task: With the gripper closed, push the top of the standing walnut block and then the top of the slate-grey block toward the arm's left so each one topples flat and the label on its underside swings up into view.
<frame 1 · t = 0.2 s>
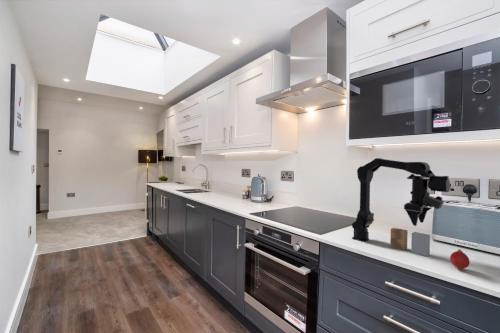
hand: (418, 224, 108), 14 cm above the worktop, tool pointing down, fingers open, 9 cm apart
walnut block: (398, 247, 117), on the worktop
grey block: (420, 253, 110), on the worktop
onion: (459, 270, 94), on the worktop
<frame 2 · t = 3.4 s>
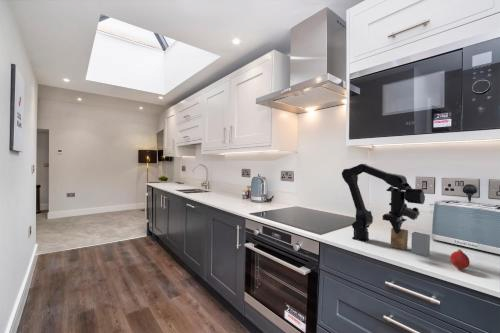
hand: (397, 233, 115), 8 cm above the worktop, tool pointing down, fingers closed
nothing on the worktop moved.
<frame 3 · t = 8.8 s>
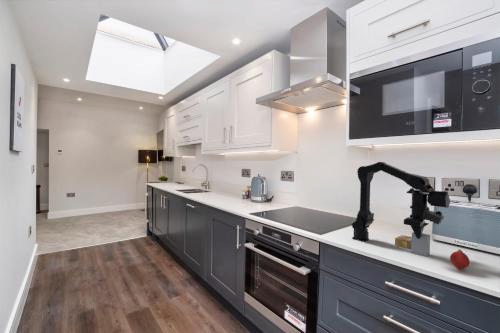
hand: (418, 238, 108), 8 cm above the worktop, tool pointing down, fingers closed
walnut block: (401, 243, 118), point 2 cm above the worktop, tilted 90°
grey block: (420, 253, 110), on the worktop, touching gripper
everything else where it was.
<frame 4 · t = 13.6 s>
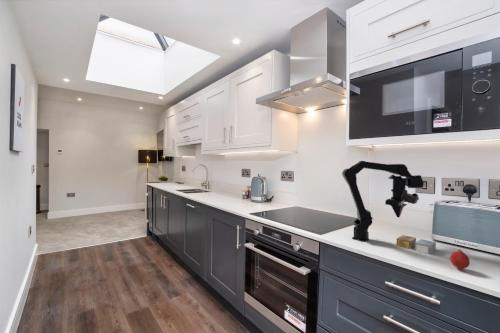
hand: (398, 217, 126), 13 cm above the worktop, tool pointing down, fingers closed
grey block: (422, 248, 111), point 2 cm above the worktop, tilted 90°
everything else where it was.
at the end: walnut block tilted 90°; grey block tilted 90°; grey block inside the target area (2.6 cm from its centre), point 1.7 cm above the worktop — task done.
